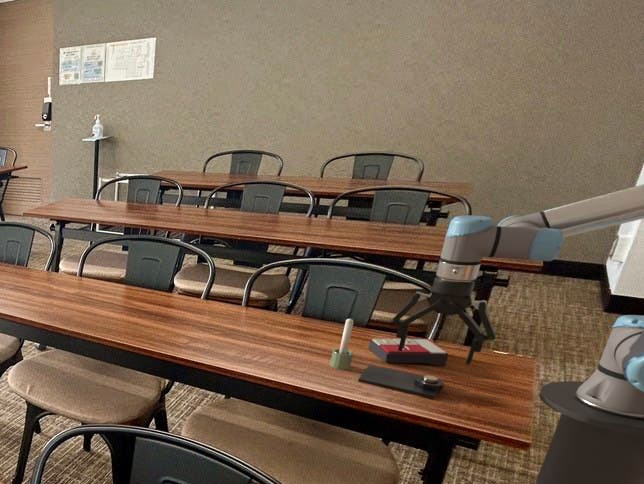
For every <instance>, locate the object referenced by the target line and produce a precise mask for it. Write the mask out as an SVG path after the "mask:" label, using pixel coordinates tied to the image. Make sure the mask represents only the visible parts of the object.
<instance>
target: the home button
mask: <svg viewBox="0 0 644 484" xmlns="http://www.w3.org/2000/svg"><path fill="white" fill-rule="evenodd" d="M423 376H424V378H423V381H424V382H426V383H430V384H436V383H437V380H438V379H439V378H438V377H437V376H434V375H431V374H430V375H427V374H426V375H425V374H424V375H423Z"/></svg>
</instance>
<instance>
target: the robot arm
mask: <svg viewBox="0 0 644 484" xmlns="http://www.w3.org/2000/svg"><path fill="white" fill-rule="evenodd" d="M640 220H644V183H642V184H639V185H635V186H632V187H628V188H624V189H620V190H617V191H613V192H610V193H606V194H602V195H598V196H595V197H590V198H587V199H583V200H578V201H576V202H572V203H571V202H570V203H568V204H564V205H560V206H555V207H553V208H548V209H546V210H541V211H538V212H533V213H530V214H526V215H525V214H524V215H522V214H514V215H511V216H510V215H509V216H507V217H505V218H503V219H502V220H501V221H500V222H498V224H497V225H494V224H493V223H494V219H493V218H492V217H490V216H485V215H484V216H483V215H475V214H474V215H470V214H469V215H466V214H465V215H458V216H454V217H453V218H452V219H450V222H449V225H448V228H447V231H446V233H445V238H444V241H443V246H442V249H441V254H440V258H439V261H438V265H437V268H436V272H435V275H436V276H435V278H434V279H433V284H432V287H431V290H430V293H429V294H427V293H423V292H422V291H420V290H417V291H416V292H415V293H414V294H413V296H412V298H411V300H410V301H409V302H408V303H407V304H406V305H405V306H404V307H403V308H402V309H401V310H400V311H399V312H398V313H397V314H395V316H393V318H392V319H391V320H390V323H391V324H392V325H396V326H397V331H396V334H395V337H396V339H401V340H400V344H399V348H398V351H402V350H403V348H404V345H405V341H406V339H407V337H408V332H409V329H410V325H409V324H411V323H413V322H415V321H417V320H418V319H420V318H422V317H423V316H425V315H428V314H429V313H431V312H433V311H434V312H435V313H436V314H440V315H441V314H445V315H448V316H455V315H457V316H458V317H459V319H461V320H462V321H463V323H464V324H465V325H466V326H467V327H468V329H469V330H470V331H471V333H472V334H473V335H474V337H473V339H472V342H471V346H470V349H469V352H468V355H467V358H466V362H465V364H466V365H471V363H472V361H473V357H474V354H475V353H480V352H481V351H482V350H483V346H484V343H485V341H495V339H496V337H497V333H496V330H495V326H494V325H493V323H492V320H491V317H490V315H489V313H488V312H489V311H488V309H487V307H488V300H487V299H482V300H473V299H472V294H473V290H474V288H475V284H476V282H475V280H476V279H477V278H478V274H479V271H480V268H481V264H482V261H483V258H490V259H491V258H494V259H507V260H517V261H518V260H519V261H530V262H551V261H554V260H555V259H556V258H557V257H558V255H559V253H560V251H561V248H562V245H563V241H564V238H567V237H572V236H576V235H579V234H580V235H581V234H584V233H589V232H593V231H596V230H601V229H605V228H611V227H615V226H619V225H622V224H623V225H624V224H627V223H632V222H635V221H640ZM423 300H426V301H427V302H428V304H429V305H426V306H425V307H424V308H422V309H420V310H418V311H416V312H415V313H413V314H411V315H410V316H408V317H407V318H404V319H403V320H402V318H403V317H404V316H405V315H406V314H407V313H408V312H410V310H411V309H412V308H413V307H414V306H416V305H417V303H418V302H422V301H423ZM471 306H473V307H474V309H475V310H477V311H478V315H479V318H480V320H481V323H482V326H483V328H484V330H485V333H484V331H483V330H482V329H481V327H480V326H479V325H478V323H477V322H476V321H475V320H474V318H473V317H472V316H471V314H470V313H469V311H468V310H467V309H468V308H469V307H471ZM583 382H584V383H583V384H582V385H581V386H580V387H579V388H578V390H577V392H576V394H575V398H576V399H577V400H578V401H579V402H580V403H582V404H584V405H586V406H588V407H590V408H593V409H595V410H598V411H601V412H604V413H608V414H611V415H615V416H620V417H624V418H630V419H637V420H644V315H639V314H637V315H636V314H626V315H622V316H619V317H618V318H617V319H616V320H615V322H614V324H613V325H612V326H611V332H610V334H609V336H608V340H607V342H606V344H605V347H604V350H603V351H602V355H601V357H600V360H599V363H598V365H597V367H596V370H595V371H594V372H593V373H592V374H591V375H590V376H588V377H587V378H586V379H585V380H584V381H583Z"/></svg>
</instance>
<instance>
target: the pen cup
mask: <svg viewBox="0 0 644 484" xmlns="http://www.w3.org/2000/svg"><path fill="white" fill-rule="evenodd" d="M339 351H340V348H334V349H332V353H331V357H330V362H329V366H330V367H331V368H334V369H337V370H342V371H347V370H350V369H351V367H352V363H353V358H354V352H353V351H352V350H349V349H348V350H347V355H345V354H339Z"/></svg>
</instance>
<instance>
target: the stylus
mask: <svg viewBox="0 0 644 484" xmlns="http://www.w3.org/2000/svg"><path fill="white" fill-rule="evenodd" d="M354 322H355V321H354V320H353V318H346V320H345V323H344V328H343V333H342V337H341V342H340V346H339V349H340V351H339V354H345V355H347V350H349V345H350V341H351V337H352V331H353V327H354V324H355V323H354Z"/></svg>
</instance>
